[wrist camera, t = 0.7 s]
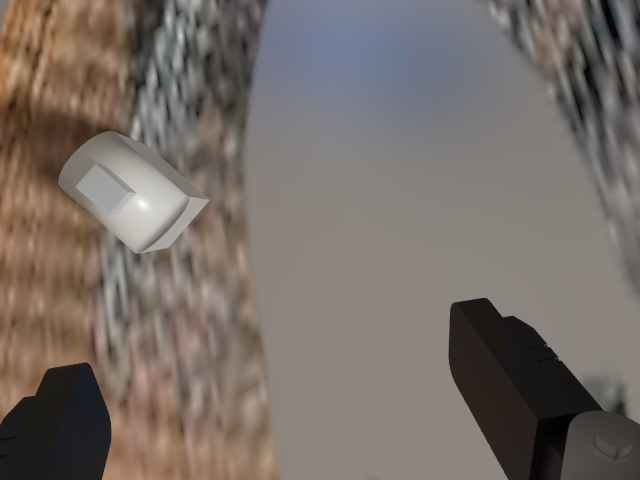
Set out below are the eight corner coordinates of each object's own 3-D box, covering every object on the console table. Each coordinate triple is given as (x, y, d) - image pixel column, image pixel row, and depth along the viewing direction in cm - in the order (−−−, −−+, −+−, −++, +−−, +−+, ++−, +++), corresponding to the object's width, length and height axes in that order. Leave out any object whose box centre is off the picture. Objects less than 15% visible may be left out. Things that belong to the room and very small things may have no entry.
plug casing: (148, 146, 36) (88, 120, 27) (209, 200, 36) (171, 193, 27) (106, 194, 36) (32, 185, 27) (168, 247, 37) (115, 257, 27)
